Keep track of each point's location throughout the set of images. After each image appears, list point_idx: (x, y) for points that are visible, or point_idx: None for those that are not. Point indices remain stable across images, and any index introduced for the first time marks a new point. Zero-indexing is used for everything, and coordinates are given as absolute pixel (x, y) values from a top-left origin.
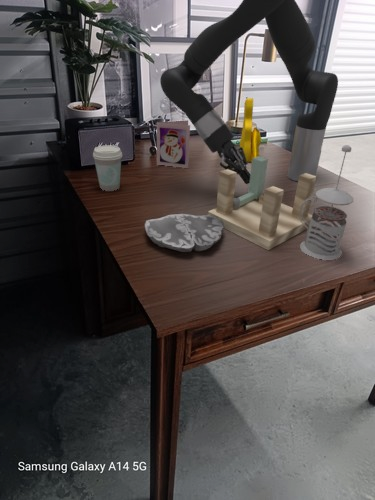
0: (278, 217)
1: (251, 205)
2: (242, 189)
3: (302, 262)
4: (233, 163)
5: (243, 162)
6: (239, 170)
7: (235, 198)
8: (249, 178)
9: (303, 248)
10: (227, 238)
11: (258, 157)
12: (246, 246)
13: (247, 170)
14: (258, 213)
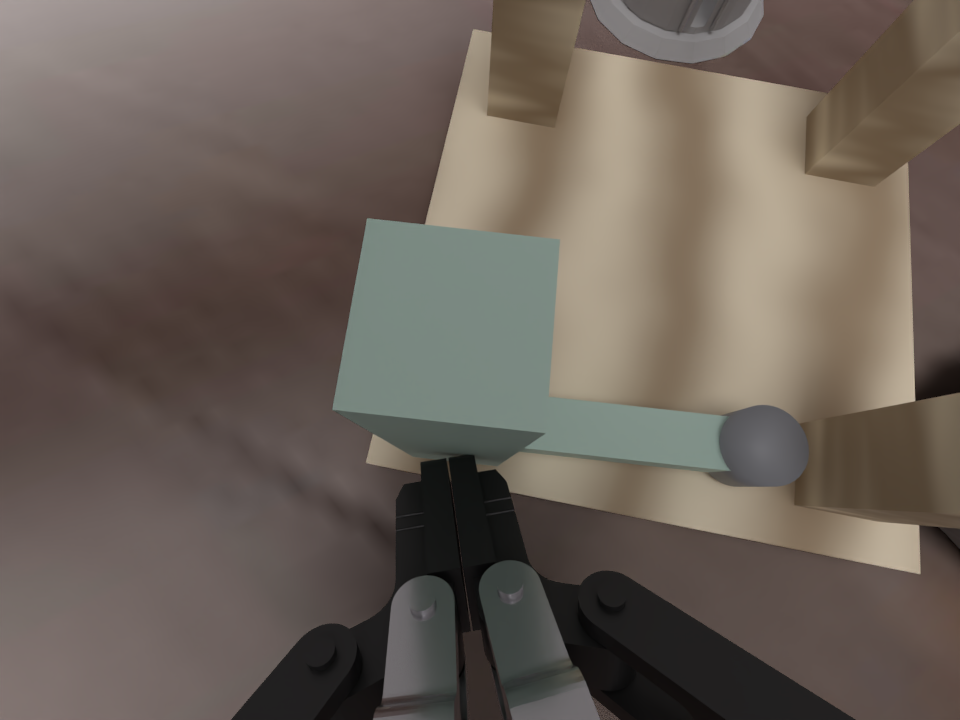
0: (885, 36)
1: (600, 375)
2: (227, 654)
3: (828, 13)
4: (751, 704)
5: (396, 667)
6: (619, 581)
7: (749, 452)
8: (477, 478)
9: (742, 31)
10: (934, 342)
11: (407, 376)
12: (916, 233)
13: (427, 547)
14: (675, 284)
